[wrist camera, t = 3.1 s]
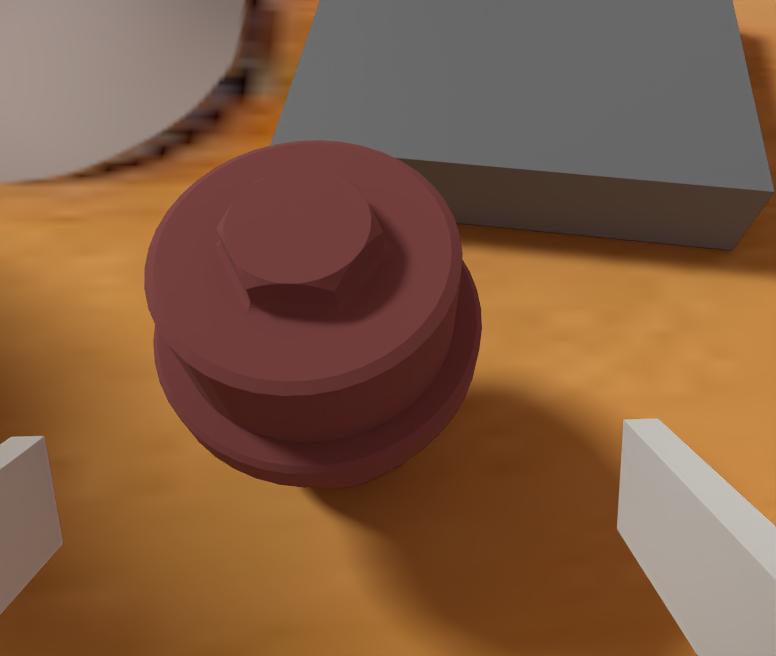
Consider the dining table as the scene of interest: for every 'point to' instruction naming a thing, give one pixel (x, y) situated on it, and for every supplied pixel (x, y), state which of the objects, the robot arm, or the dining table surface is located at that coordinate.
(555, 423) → the dining table surface
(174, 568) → the dining table surface
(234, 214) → the mechanical component
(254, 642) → the dining table surface
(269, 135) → the dining table surface
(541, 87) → the plate
